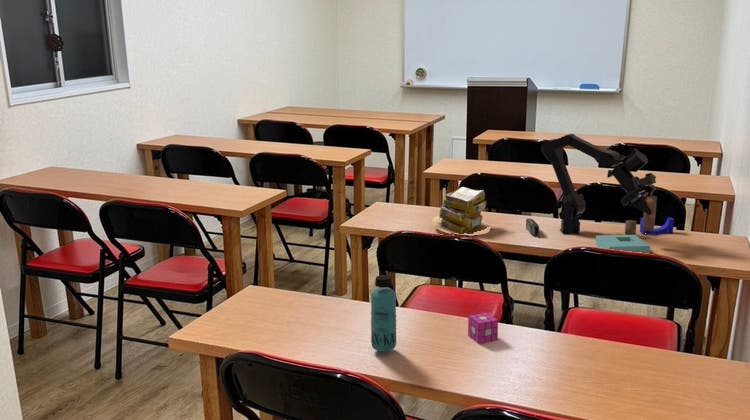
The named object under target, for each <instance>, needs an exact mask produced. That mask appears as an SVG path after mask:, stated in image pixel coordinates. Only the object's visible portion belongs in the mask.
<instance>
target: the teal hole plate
mask: <svg viewBox="0 0 750 420" xmlns="http://www.w3.org/2000/svg"><path fill="white" fill-rule="evenodd" d="M595 245H596V246H597V247H598V248H599V247H601V248H606V249H614V250H623V251H632V252H642V253H650V254H651V245H650V244H648V243H647V242H646V241H644V240H643V239H642V238H640V237H639V236H638V235H637V234H636V235H625V234H609V235H608V234H606V235H605V234H604V235H595Z"/></svg>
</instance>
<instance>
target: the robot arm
mask: <svg viewBox="0 0 750 420" xmlns="http://www.w3.org/2000/svg"><path fill="white" fill-rule="evenodd" d="M567 146H570V147H571V148H573V149H575V150H577V151H579V152H582V153H583V154H585V155H587V156H588V157H590V158H591V157H592V159H594V160H595V161H596V162H597V164H599V165H600V166H601V167H603V168H604V169H605V168H606V169H609V170H607V177H606V178H608V179H609V178H612V177H614V179H615V180H616V181H617V182H618V184H619V185H620V187H619V189H621V190H624V191H625V192H626V195H624V196H623V197H622V198H620V203H621V205H623V207H626V206H627V205H629V206H630V207H633V208H635V209H637V210H639V211H641V212H643V213H644V212H645V213H647V214H649V215H650V214H652V212H651V210H650V209H649V207H648V206H647V204H646V202H645V196H653V195H654V194H653V193H654V191H656V190H657V187H656V186H655V185H654V184H657V181H656V178H657V176H655V174H654V173H652V172H649V173H646V174H645V176H644V177H641V178H640V177H639V176H636V175H634V174H633V173H632V172H634V173H637V172H638V171H640V169H641V168H644V166H645V165H646V164H649V159H648V157H647V156H646V155H645V154H643V152H640V151H639V150H638V149H637V148H634V149H633V150H631V152H629V154H628V155H626V156H624V155H621V154H620V153H619V152H618V151H615V150H611V149H608V148H602V147H599V146H597V145H595V144H593V143H591V142H589V141H587V140H585V139H583V138H582V137H579V136H577V135H575V134H574V133H569V134H565V135H564V136H561V137H559V138H552V139H547V140H544V141H543V142H542V144H541V147H540V149H541V151H542V153H543V155H544V157H545V158H546V159H547V160H548V161H549V162H550V164H551V166H552V169H553V171H554V173H555V176H556V178H557V181H558V185H559V186H560V189H561V192H562V194H563V206H564V207H563V209H562V210H561V211H560V212H559V213H558V215H559V219H560V223H561V225H560V228H559V232H561V233H562V234H563V235H580V234H581V232H580V231H581V230H580V229H581V221H580V218H581V216H582V214H583V213H584V212H585V211H586V209H587V206H586V204H587V202H586V200H585V198H584V195H583V193H581V194H579V193H578V192H577V191H576V189H575V186H574V183H573V181H572V178H571V175H570V173H569V170H568V168H567V166H566V162H565V161H564V148H565V147H567ZM620 164H621V165H620ZM612 167H614V168H613V169H610V168H612ZM629 203H630V204H629ZM657 211H658V210H657V209H656V212H657Z"/></svg>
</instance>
